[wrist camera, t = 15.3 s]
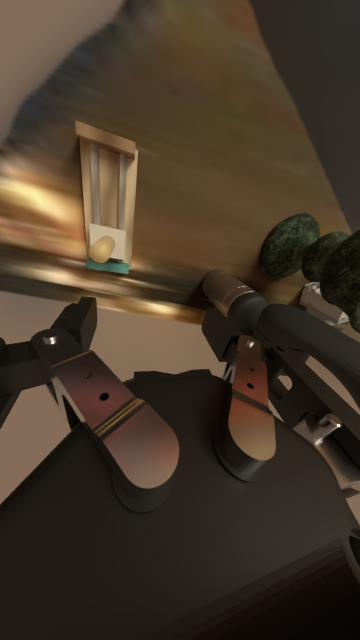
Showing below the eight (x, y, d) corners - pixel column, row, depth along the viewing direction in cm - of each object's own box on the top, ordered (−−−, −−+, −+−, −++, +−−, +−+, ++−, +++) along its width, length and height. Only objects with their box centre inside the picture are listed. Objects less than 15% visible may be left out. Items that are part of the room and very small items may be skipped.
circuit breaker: (295, 316, 70) (330, 338, 57) (304, 285, 61) (346, 303, 49) (311, 311, 70) (349, 332, 58) (322, 279, 62) (368, 296, 50)
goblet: (240, 250, 49) (348, 289, 24) (309, 184, 43) (538, 148, 19) (269, 295, 60) (361, 352, 36) (326, 247, 55) (481, 277, 30)
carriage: (126, 230, 37) (122, 238, 26) (124, 257, 40) (121, 274, 29) (91, 223, 35) (72, 228, 24) (92, 252, 38) (76, 268, 27)
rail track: (137, 152, 33) (138, 143, 28) (130, 267, 44) (130, 274, 40) (81, 132, 30) (71, 119, 25) (89, 261, 41) (83, 268, 37)
